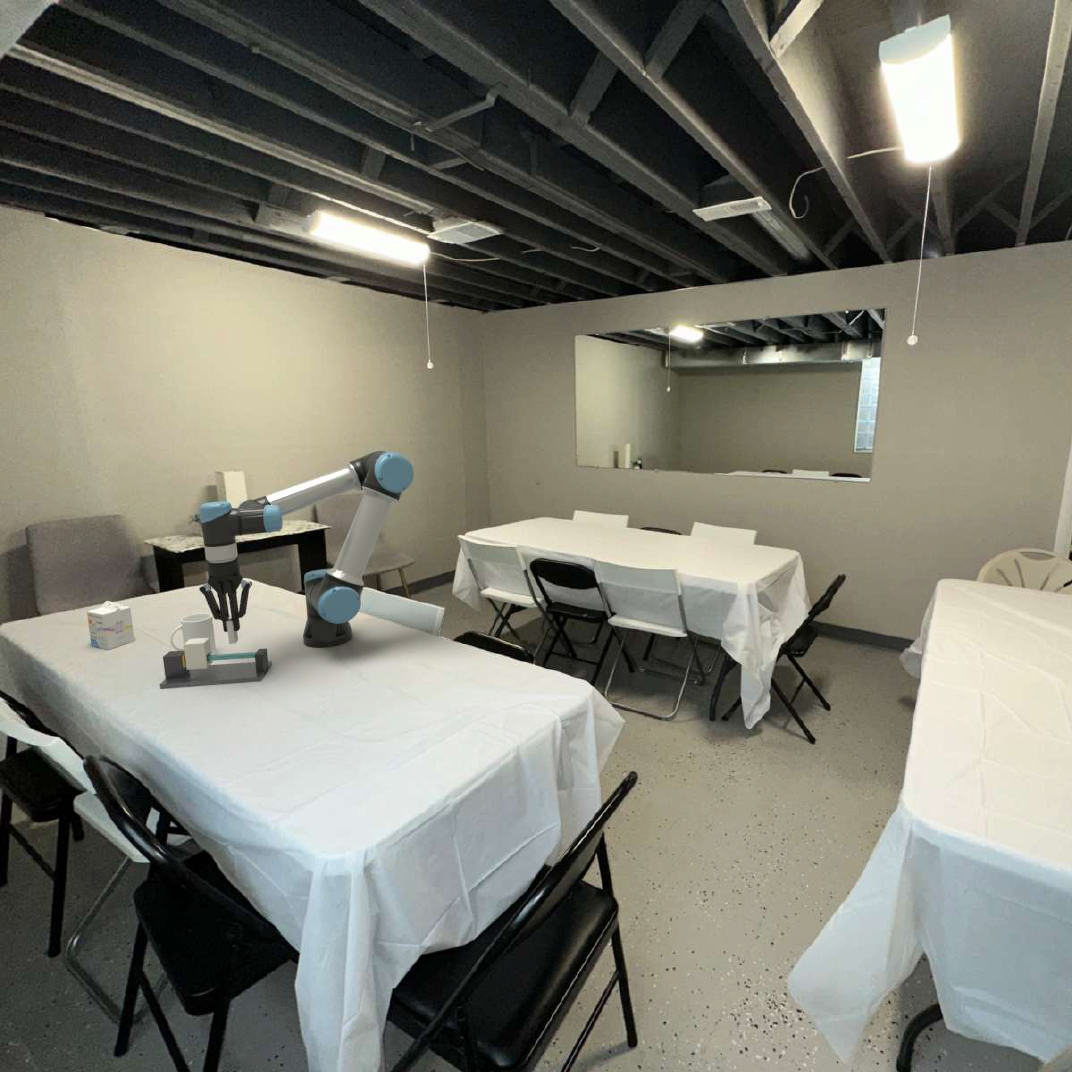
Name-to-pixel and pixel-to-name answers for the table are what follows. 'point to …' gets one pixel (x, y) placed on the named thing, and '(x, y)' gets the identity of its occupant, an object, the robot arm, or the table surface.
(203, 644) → the sleeve
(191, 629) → the mug
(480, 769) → the table surface
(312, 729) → the table surface
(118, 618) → the ink box
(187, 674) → the glowing rod on plate
